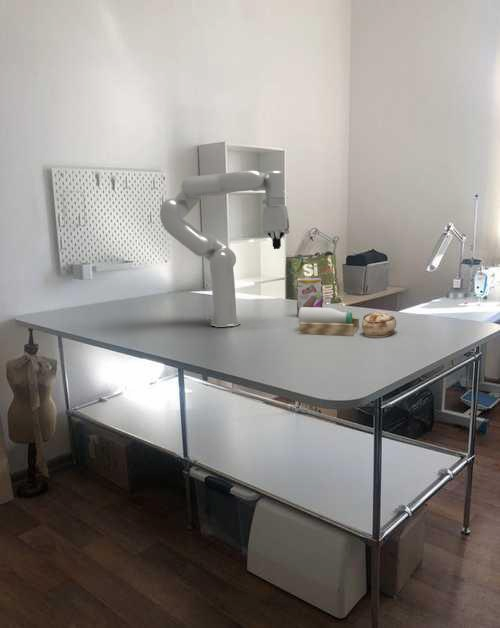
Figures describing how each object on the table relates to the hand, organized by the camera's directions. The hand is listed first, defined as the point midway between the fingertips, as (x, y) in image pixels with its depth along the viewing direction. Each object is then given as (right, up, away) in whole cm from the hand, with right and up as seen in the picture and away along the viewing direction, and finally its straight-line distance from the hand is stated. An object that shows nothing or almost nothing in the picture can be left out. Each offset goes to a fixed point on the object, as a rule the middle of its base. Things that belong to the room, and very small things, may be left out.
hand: (276, 248), depth 218 cm
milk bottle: (+9, -28, -7) cm, 30 cm away
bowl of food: (+37, -34, -20) cm, 54 cm away
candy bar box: (+16, -27, +20) cm, 37 cm away
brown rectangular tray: (+20, -33, -12) cm, 40 cm away
